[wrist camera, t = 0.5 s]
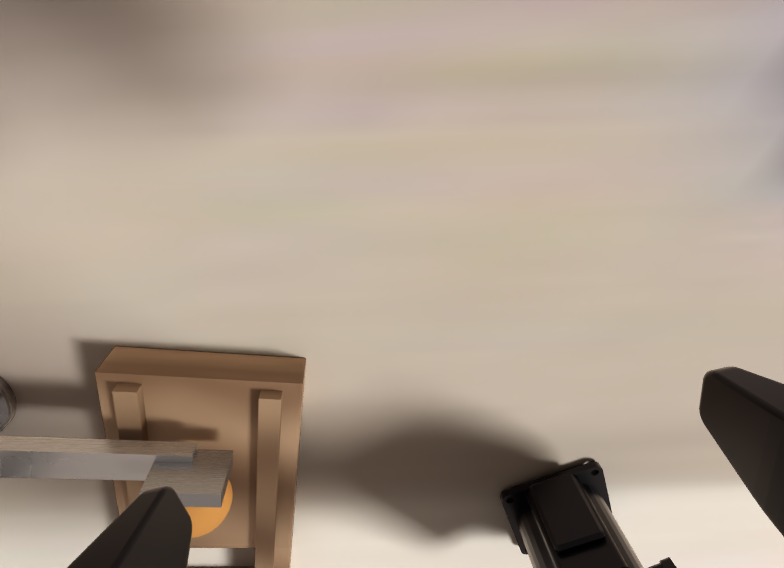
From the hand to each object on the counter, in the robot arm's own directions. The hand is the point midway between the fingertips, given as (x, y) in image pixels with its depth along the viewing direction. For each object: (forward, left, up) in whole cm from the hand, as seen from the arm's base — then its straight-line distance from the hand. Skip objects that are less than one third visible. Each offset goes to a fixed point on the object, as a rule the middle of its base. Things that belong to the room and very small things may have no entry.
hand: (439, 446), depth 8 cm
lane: (-13, +15, -14) cm, 24 cm away
